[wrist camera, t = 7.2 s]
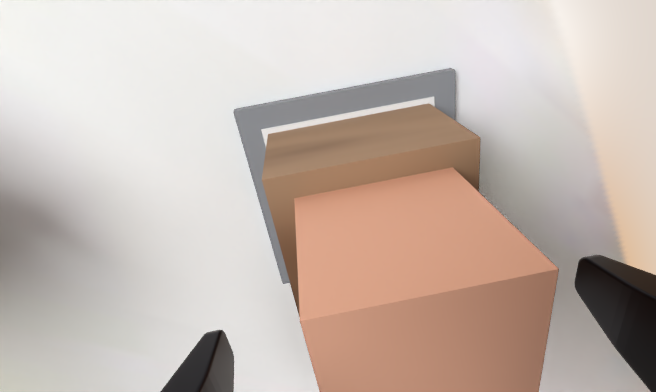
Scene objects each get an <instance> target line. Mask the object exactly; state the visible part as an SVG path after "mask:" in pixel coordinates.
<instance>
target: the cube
mask: <svg viewBox="0 0 656 392" xmlns="http://www.w3.org/2000/svg"><path fill="white" fill-rule="evenodd" d="M294 203H295V225H296V247H297V268H298V290H299V312H300V323H301V327H302V330H303V334H304V337H305V341H306V344H307V348H308V352H309V355H310V359H311V362H312V366H313V369H314V373H315V376H316V380H317V384H318V387H319V391H320V392H539V386H540V380H541V374H542V368H543V362H544V356H545V350H546V344H547V338H548V332H549V326H550V319H551V313H552V307H553V301H554V295H555V289H556V283H557V277H558V271H559V269H558V268H557V267H556V266H555V265H554V264H553V263H552V262H551V261H550V260H549V259H548V258H547V257H546V256H545V255H544V254H543V253H542V252H541V251H540V250H539V249H537V248H536V247H535V246H534V245H533V244H532V243H531V242H530V241H529V240H528V239H527V238H526V237H525V236H524V235H523V234H522V233H521V232H520V231H519V230H518V229H517V228H516V227H515V226H513V225H512V224H511V223H510V222H509V221H508V220H507V219H506V218H505V217H504V216H503V215H502V214H501V213H500V212H499V211H498V210H497V209H496V208H495V207H494V206H493V205H492V204H491V203H489V202H488V201H487V200H486V199H485V198H484V197H483V196H482V195H481V194H480V193H479V192H478V191H477V190H476V189H475V188H474V187H473V186H472V185H471V184H470V183H469V182H468V181H467V180H465V179H464V178H463V177H462V176H461V175H460V174H459V173H458V172H457V171H456V170H455V169H454V168H453V167H452V168H447V169H442V170H436V171H431V172H426V173H421V174H416V175H411V176H406V177H401V178H396V179H391V180H386V181H380V182H375V183H370V184H365V185H360V186H355V187H350V188H345V189H340V190H335V191H330V192H325V193H319V194H314V195H309V196H304V197H299V198H294Z"/></svg>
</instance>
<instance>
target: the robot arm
mask: <svg viewBox="0 0 656 392" xmlns="http://www.w3.org/2000/svg"><path fill="white" fill-rule="evenodd" d="M575 288H576V291H577V293H578V294H579V296H580V297H581V299H582V300H583V302H584V303H585V305H586V306H587V307H588V309H589V310H590V312H591V313H592V315H593V316H594V318H595V319H596V321H597V322H598V324H599V325H600V327H601V328H602V330H603V331H604V333H605V334H606V336H607V337H608V338H609V340H610V341H611V343H612V344H613V345H614V347H615V348H616V349H617V351H618V352H619V353H620V354H621V356H622V357H623V358H624V359H625V361H626V362H627V363H628V364H629V366H630V367H631V368H632V369H633V370H634V372H635V373H636V374H637V375H638V376H639V378H640V379H641V380H642V381H643V383H644V384H645V385H646V386H647V387H648V389H649V390H650V391H651V392H656V275H653V274H651V273H648V272H645V271H643V270H640V269H637V268H634V267H632V266H629V265H626V264H623V263H620V262H618V261H615V260H612V259H609V258H607V257H604V256H601V255H593V256H588V257H583V258H581V259H580V260H579V263H578V268H577V273H576V278H575ZM233 390H234V355H233V351H232V349H231V346H230V344H229V342H228V339H227V337H226V334H225V333H224V331H223V330H216V331H211V332H207V333H206V334H204V335H203V337H202V338H201V339H200V341H199V342H198V343H197V345H196V346H195V347H194V349H193V350H192V351H191V352H190V354H189V355H188V356H187V358H186V359H185V360H184V362H183V363H182V364H181V366H180V367H179V368H178V370H177V371H176V372H175V373H174V375H173V376H172V377H171V379H170V380H169V381H168V383H167V384H166V385H165V387H164V388H163V389H162V391H161V392H233Z"/></svg>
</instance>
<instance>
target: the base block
mask: <svg viewBox="0 0 656 392" xmlns="http://www.w3.org/2000/svg"><path fill="white" fill-rule="evenodd" d="M479 163H480V137H479V136H477V135H476V134H474V133H473V132H471V131H470V130H468V129H467V128H465V127H464V126H462V125H461V124H459V123H458V122H456V121H455V120H453V119H452V118H450V117H449V116H447V115H446V114H444V113H443V112H441V111H440V110H438V109H437V108H435V107H434V106H432V105H431V104H429V103H428V104H423V105H417V106H412V107H407V108H402V109H397V110H391V111H386V112H381V113H376V114H370V115H365V116H360V117H355V118H349V119H344V120H339V121H334V122H329V123H323V124H318V125H313V126H308V127H302V128H297V129H292V130H287V131H281V132H276V133H271V134H268V138H267V145H266V152H265V159H264V167H263V174H262V183H263V186H264V190H265V194H266V197H267V201H268V204H269V208H270V212H271V215H272V219H273V223H274V226H275V230H276V233H277V237H278V241H279V244H280V248H281V252H282V255H283V259H284V262H285V266H286V270H287V273H288V277H289V281H290V284H291V288H292V291H293V295H294V299H295V302H296V306H297V310H298V313H299V317H300V312H299V290H298V268H297V247H296V225H295V203H294V198H299V197H304V196H309V195H314V194H319V193H325V192H330V191H335V190H340V189H345V188H350V187H355V186H360V185H365V184H370V183H375V182H380V181H386V180H391V179H396V178H401V177H406V176H411V175H416V174H421V173H426V172H431V171H436V170H442V169H447V168H452V167H453V168H454V169H455V170H456V171H457V172H458V173H459V174H460V175H461V176H462V177H463V178H464V179H465V180H467V181H468V182H469V183H470V184H471V185H472V186H473V187H474V188H475V189H476V190H477V191H478V192H479Z"/></svg>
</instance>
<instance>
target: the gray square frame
mask: <svg viewBox="0 0 656 392" xmlns="http://www.w3.org/2000/svg"><path fill="white" fill-rule="evenodd" d="M428 103H429V104H431V105H432V106H434V107H435V108H437V109H438V110H440V111H441V112H443V113H444V114H446V115H447V116H449V117H450V118H452V119H453V120H455V70H454V69H451V68H449V69H443V70H438V71H433V72H428V73H422V74H417V75H412V76H407V77H401V78H396V79H391V80H386V81H380V82H375V83H370V84H364V85H359V86H354V87H349V88H343V89H338V90H333V91H328V92H322V93H317V94H312V95H306V96H301V97H296V98H291V99H285V100H280V101H275V102H270V103H264V104H259V105H254V106H249V107H243V108H238V109H235V110H234V116H235V119H236V123H237V126H238V130H239V133H240V137H241V140H242V143H243V147H244V150H245V154H246V157H247V161H248V164H249V168H250V171H251V175H252V178H253V182H254V185H255V189H256V192H257V195H258V199H259V202H260V206H261V209H262V213H263V216H264V220H265V223H266V227H267V230H268V234H269V237H270V241H271V244H272V247H273V251H274V254H275V258H276V261H277V265H278V268H279V272H280V275H281V279H282V282H283V284H286V283H290V281H289V277H288V273H287V270H286V266H285V262H284V259H283V255H282V252H281V248H280V244H279V241H278V237H277V233H276V230H275V226H274V223H273V219H272V215H271V212H270V208H269V204H268V201H267V197H266V194H265V190H264V186H263V183H262V174H263V167H264V159H265V152H266V145H267V138H268V134H271V133H276V132H281V131H287V130H292V129H297V128H302V127H308V126H313V125H318V124H323V123H329V122H334V121H339V120H344V119H349V118H355V117H360V116H365V115H370V114H376V113H381V112H386V111H391V110H397V109H402V108H407V107H412V106H417V105H423V104H428Z"/></svg>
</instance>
